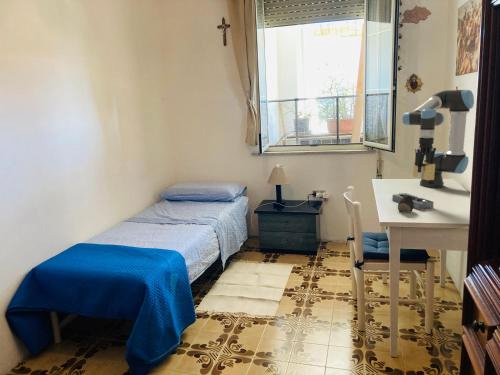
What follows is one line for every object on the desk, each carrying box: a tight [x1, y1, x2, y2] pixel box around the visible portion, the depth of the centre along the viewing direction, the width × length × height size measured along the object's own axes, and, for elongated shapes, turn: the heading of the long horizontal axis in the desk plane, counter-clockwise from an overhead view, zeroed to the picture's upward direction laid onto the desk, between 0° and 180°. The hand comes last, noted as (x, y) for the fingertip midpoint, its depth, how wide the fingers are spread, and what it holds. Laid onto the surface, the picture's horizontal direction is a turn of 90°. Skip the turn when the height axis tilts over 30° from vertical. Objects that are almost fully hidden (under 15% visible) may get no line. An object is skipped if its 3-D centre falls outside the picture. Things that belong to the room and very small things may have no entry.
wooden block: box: [412, 161, 435, 180], centre depth 221 cm, size 4×12×9 cm, turn 20°
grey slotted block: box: [391, 192, 435, 211], centre depth 223 cm, size 10×22×4 cm, turn 19°
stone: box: [397, 195, 415, 213], centre depth 209 cm, size 8×7×10 cm
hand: (423, 177), depth 222 cm, fingers closed on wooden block, 4 cm apart
